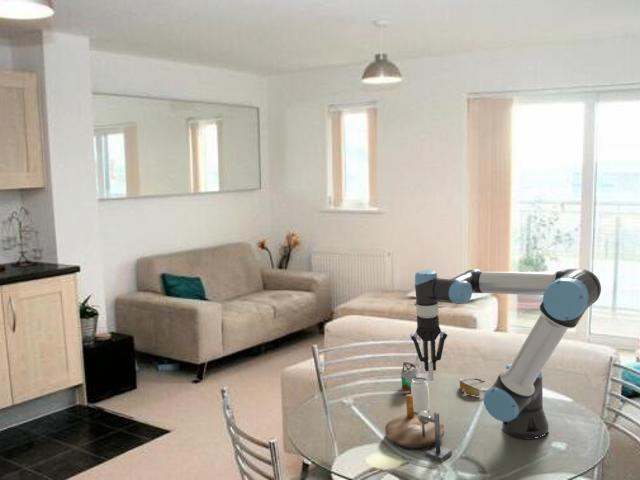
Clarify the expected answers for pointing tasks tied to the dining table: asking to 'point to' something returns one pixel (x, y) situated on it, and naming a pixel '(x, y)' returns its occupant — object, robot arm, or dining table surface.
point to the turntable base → (415, 446)
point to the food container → (408, 376)
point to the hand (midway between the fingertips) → (430, 379)
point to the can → (420, 394)
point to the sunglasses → (470, 387)
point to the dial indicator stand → (437, 450)
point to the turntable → (411, 428)
